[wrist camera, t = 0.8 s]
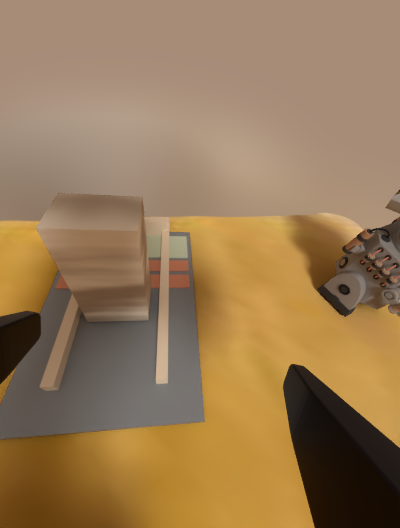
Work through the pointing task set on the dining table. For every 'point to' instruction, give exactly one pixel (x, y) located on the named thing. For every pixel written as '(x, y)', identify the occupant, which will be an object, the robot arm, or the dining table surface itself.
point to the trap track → (113, 357)
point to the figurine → (368, 269)
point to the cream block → (101, 253)
